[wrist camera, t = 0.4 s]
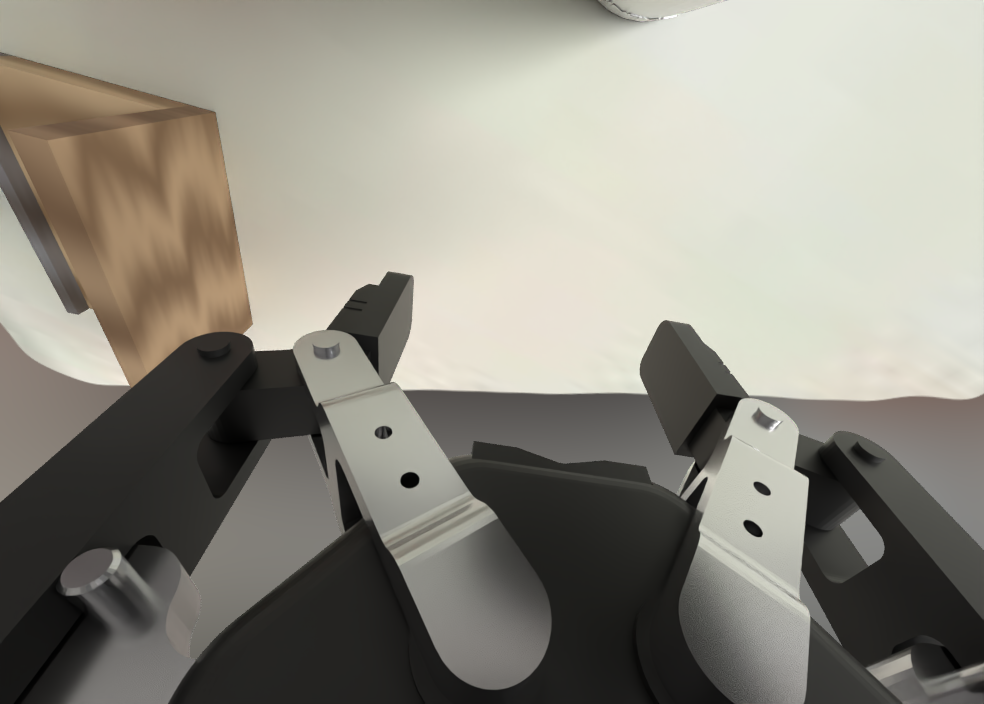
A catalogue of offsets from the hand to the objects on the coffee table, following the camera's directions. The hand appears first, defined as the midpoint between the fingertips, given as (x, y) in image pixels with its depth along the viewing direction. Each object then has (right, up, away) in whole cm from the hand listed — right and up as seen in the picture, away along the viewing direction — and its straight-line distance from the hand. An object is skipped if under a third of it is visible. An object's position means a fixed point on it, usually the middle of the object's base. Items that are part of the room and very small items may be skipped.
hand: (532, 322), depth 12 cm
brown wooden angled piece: (-27, +9, +17) cm, 33 cm away
